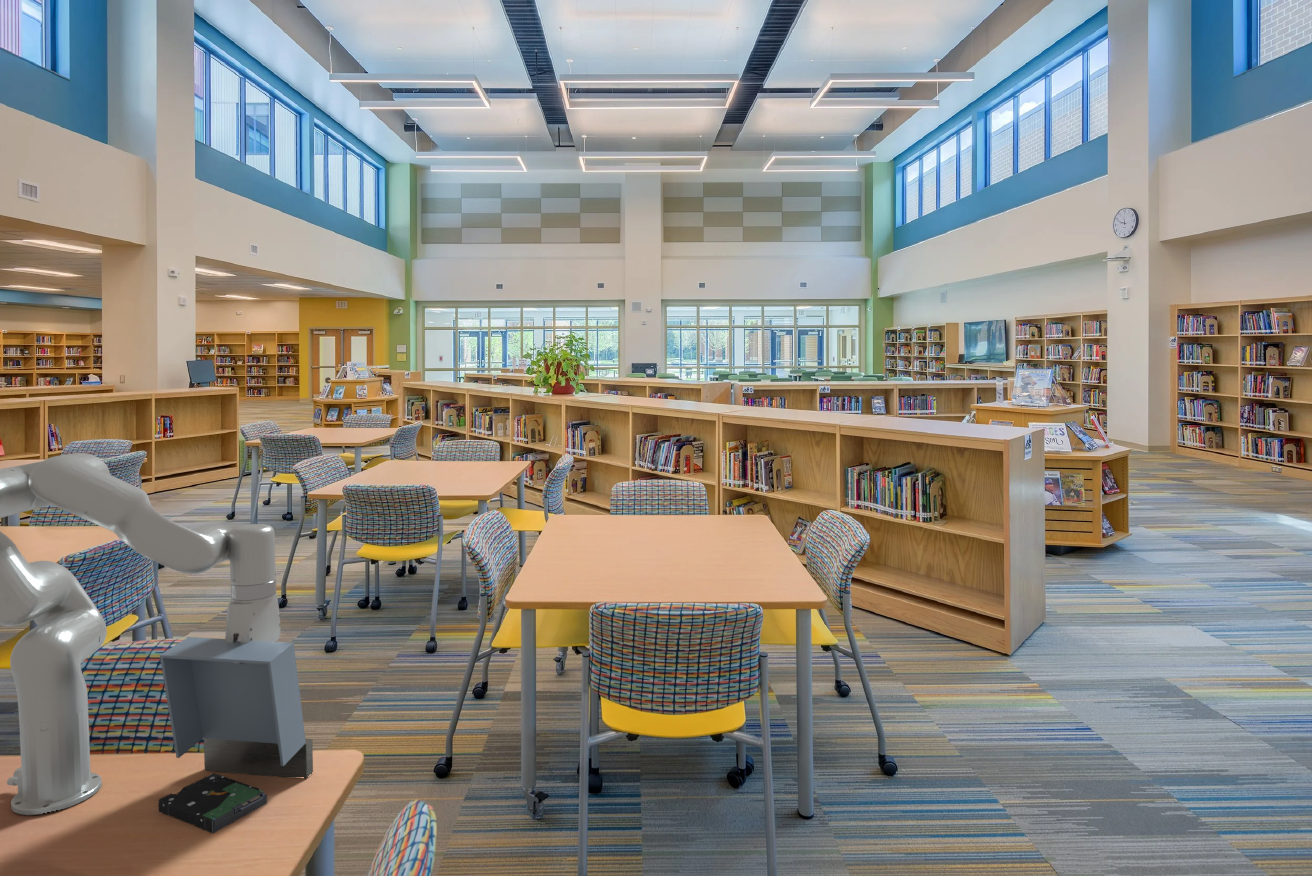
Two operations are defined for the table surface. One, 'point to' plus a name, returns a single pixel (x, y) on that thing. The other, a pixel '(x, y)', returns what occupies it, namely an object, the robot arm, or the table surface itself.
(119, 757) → the table surface
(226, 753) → the long flat gray bar
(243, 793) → the disk drive
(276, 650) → the cover
